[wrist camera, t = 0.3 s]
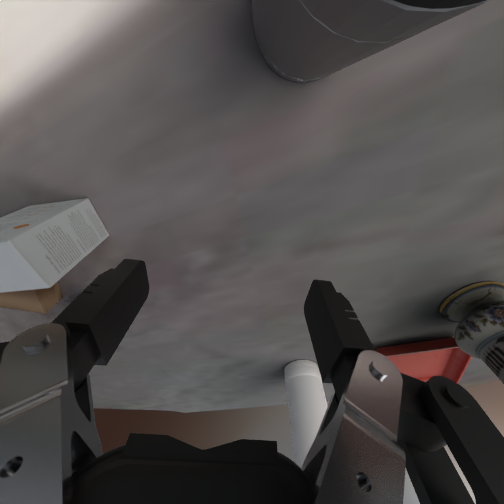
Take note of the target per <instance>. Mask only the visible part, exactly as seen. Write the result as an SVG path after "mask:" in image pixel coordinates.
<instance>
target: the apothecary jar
mask: <svg viewBox="0 0 504 504" xmlns="http://www.w3.org/2000/svg"><path fill="white" fill-rule="evenodd" d="M440 312H441V313H443V314H444V315H443V318H444V319H445V320H448V321H451V322H460V323H459V324H458V326H457V328H456V331H455V341H456V343H457V345H458V346H459V348H460V349H461V350H462V351H464V352H465V353H467V354H469V355H471V356H473V357H476V358H479V359H482V360H483V361H484V362H485V363H486V365H487V366H488V367H489V368H490V369H491V370H492V371H493V372H494V373H495V374H496V376H497V377H498V378H499V379H500V380H501V381H502V382H503V384H504V284H502V283H500V282H494V281H486V282H480V283H475V284H472V285H469V286H466V287H464V288H462V289H460V290H458V291H456V292H455V293H453V294H452V295H450V296H449V297H448V298H447V299H446V300H445V301H444V302H443V303H442V305H441V307H440Z"/></svg>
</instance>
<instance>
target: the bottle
mask: <svg viewBox="0 0 504 504" xmlns="http://www.w3.org/2000/svg"><path fill="white" fill-rule="evenodd" d="M284 372H285V384H286V389H287V398H288V406H289V415H290V424H291V432H292V442H293V450H294V459H295V463H296V464H297V465H298V466H299V467H300V468H302V465H303V463H304V460H305V458H306V456H307V454H308V452H309V450H310V448H311V446H312V444H313V442H314V440H315V438H316V435H317V433H318V430H319V428H320V425H321V423H322V420H323V417H324V415H325V412H326V410H327V407H328V405H327V401H326V397H325V393H324V389H323V385H322V380H321V375H320V371H319V369H318V365H317V364H316V363H314V362H312V361H310V360H296V361H293V362H290V363H289V364H288V365H286V366H285V369H284Z"/></svg>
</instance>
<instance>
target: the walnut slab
mask: <svg viewBox="0 0 504 504" xmlns="http://www.w3.org/2000/svg"><path fill="white" fill-rule="evenodd" d="M62 297H63V295H62V293H61V290H60V287H59V285H58V282H56V283H55V284H54V285H53V286H52V287H51V288H45V289H34V290H24V291H13V292H3V293H0V307H4V308H11V309H17V310H24V311H30V312H37V313H44V314H46V313H47V312H48V311H49V310H50V309H51V308H52V307H53V306H54V305H55V304H56V303H57V302H58V301H59V300H60V299H61V298H62Z"/></svg>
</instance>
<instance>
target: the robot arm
mask: <svg viewBox="0 0 504 504" xmlns="http://www.w3.org/2000/svg"><path fill="white" fill-rule="evenodd" d="M488 1H490V0H252V17H253V26H254V32H255V36H256V40H257V43H258V47H259V49H260V51H261V53H262V55H263V57H264V59H265V60H266V62H267V63H268V64H269V66H270V67H271V68H272V69H273V70H274V71H275V72H276V73H277V74H278V75H280V76H281V77H283V78H285V79H287V80H289V81H293V82H299V83H303V82H312V81H315V80H319V79H320V78H323V77H325V76H327V75H329V74H332V73H334V72H336V71H338V70H341V69H343V68H345V67H347V66H349V65H351V64H354V63H356V62H358V61H360V60H362V59H364V58H367V57H369V56H371V55H373V54H375V53H377V52H380V51H382V50H384V49H386V48H388V47H390V46H393V45H395V44H397V43H399V42H401V41H403V40H406V39H408V38H410V37H412V36H414V35H416V34H418V33H420V32H422V31H425V30H427V29H429V28H431V27H433V26H435V25H438V24H440V23H442V22H444V21H446V20H448V19H451V18H453V17H455V16H457V15H459V14H461V13H464V12H466V11H468V10H470V9H472V8H475V7H477V6H479V5H481V4H483V3H485V2H488ZM148 293H149V283H148V277H147V271H146V265H145V262H144V261H141V260H131V259H124V260H123V261H122V262H121V263H120V264H119V265H118V266H117V267H116V268H115V269H109V270H108V271H106V272H104V273H102V274H100V275H99V276H98V277H97V278H96V279H95V280H94V281H93V282H92V283H91V284H90V286H88V287H87V288H86V289H85V290H84V291H83V293H81V294H80V295H79V296H78V297H77V298H76V299H75V300H74V301H73V302H72V303H71V304H70V305H69V306H68V307H67V308H66V309H65V310H64V311H63V312H62V313H61V314H60V315H59V316H58V317H57V318H56V319H55V320H54V321H53V322H51V323H47V324H42V325H38V326H35V327H32V328H30V329H28V330H26V331H24V332H22V333H21V334H19V335H17V336H16V337H15V338H14V339H12V340H11V341H10V342H4V343H0V504H403V495H404V482H405V468H406V469H407V472H408V474H409V477H410V479H411V482H412V484H413V487H414V489H415V492H416V494H417V496H418V499H419V502H420V504H474V502H473V500H472V498H471V496H470V494H469V493H468V491H467V489H466V487H465V485H464V483H463V482H462V480H461V478H460V476H459V474H458V472H457V470H456V469H455V467H454V465H453V463H452V461H451V459H450V458H449V456H448V454H447V452H446V450H445V448H444V446H445V445H448V447H449V449H450V451H451V452H452V454H453V456H454V458H455V459H456V461H457V463H458V465H459V467H460V468H461V470H462V472H463V474H464V475H465V477H466V479H467V481H468V483H469V484H470V486H471V488H472V490H473V493H474V495H475V499H476V504H504V437H503V436H502V434H501V433H500V432H499V430H498V429H497V428H496V427H495V425H494V424H493V423H492V421H491V420H490V419H489V417H488V416H487V415H486V413H485V412H484V411H483V409H482V408H481V407H480V405H479V404H478V403H477V401H476V400H475V399H474V398H473V397H472V395H470V394H469V393H468V392H467V391H466V390H465V389H464V388H463V387H462V386H460V385H459V384H457V383H456V382H454V381H452V380H450V379H448V378H446V377H443V376H433V377H431V378H430V379H429V380H428V381H427V382H424V381H421V380H419V379H416V378H413V377H411V376H408V375H406V374H403V373H401V372H399V370H398V368H397V367H396V366H395V365H394V363H393V362H392V361H391V360H389V359H388V358H387V357H385V356H384V355H382V354H380V353H378V352H376V351H375V349H374V347H373V345H372V343H371V341H370V340H369V338H368V336H367V334H366V332H365V330H364V328H363V327H362V325H361V323H360V321H359V320H358V317H357V315H356V313H355V312H354V310H353V308H352V306H351V304H350V302H349V301H348V300H347V299H346V298H345V297H344V296H343V295H342V294H341V293H337V292H336V290H335V288H334V286H333V284H332V283H331V282H330V281H324V280H313V282H312V284H311V287H310V290H309V292H308V295H307V298H306V301H305V304H304V314H305V318H306V322H307V326H308V329H309V333H310V337H311V341H312V344H313V348H314V352H315V356H316V359H317V363H318V367H319V371H320V374H321V378H322V382H323V383H333V386H334V389H335V391H334V393H333V394H332V397H331V400H330V402H329V405H328V407H327V410H326V412H325V415H324V417H323V420H322V423H321V425H320V428H319V430H318V433H317V435H316V438H315V440H314V442H313V444H312V446H311V448H310V450H309V452H308V454H307V456H306V458H305V460H304V463H303V465H302V468H300V467H299V466H298V465H297V464H296V463H294V462H293V461H292V460H291V459H289V458H288V457H286V456H284V455H283V454H281V453H279V452H277V441H264V440H246V439H241V440H238V441H234V442H231V443H227V444H224V445H220V446H217V447H213V448H210V449H206V450H201V449H198V448H196V447H194V446H191V445H189V444H187V443H184V442H182V441H180V440H177V439H175V438H173V437H170V436H168V435H155V434H136V433H130V435H129V438H128V440H127V443H126V445H124V446H120V447H118V448H115V449H113V450H111V451H109V452H107V453H105V454H102V448H101V443H100V439H99V436H98V433H97V429H96V425H95V418H94V410H93V400H92V392H91V383H90V376H89V374H88V373H89V372H90V370H91V369H92V367H93V366H94V365H107V364H108V362H109V360H110V359H111V357H112V355H113V354H114V352H115V350H116V349H117V347H118V345H119V344H120V342H121V340H122V339H123V337H124V335H125V334H126V332H127V330H128V329H129V327H130V325H131V324H132V322H133V320H134V319H135V317H136V315H137V314H138V312H139V310H140V309H141V307H142V306H143V304H144V302H145V301H146V299H147V296H148Z"/></svg>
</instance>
